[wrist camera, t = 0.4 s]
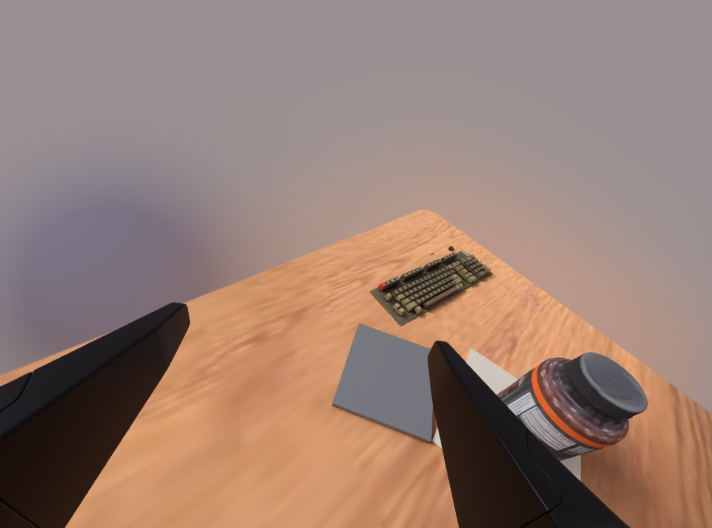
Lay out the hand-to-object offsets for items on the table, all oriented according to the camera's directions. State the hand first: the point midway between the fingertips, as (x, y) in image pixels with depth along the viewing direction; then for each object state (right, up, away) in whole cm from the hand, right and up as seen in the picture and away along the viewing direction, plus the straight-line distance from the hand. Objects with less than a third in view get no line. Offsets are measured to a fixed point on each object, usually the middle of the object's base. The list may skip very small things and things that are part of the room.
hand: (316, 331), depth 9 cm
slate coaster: (+5, -9, +17) cm, 20 cm away
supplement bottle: (+16, -14, +15) cm, 26 cm away
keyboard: (+13, 0, +30) cm, 33 cm away
